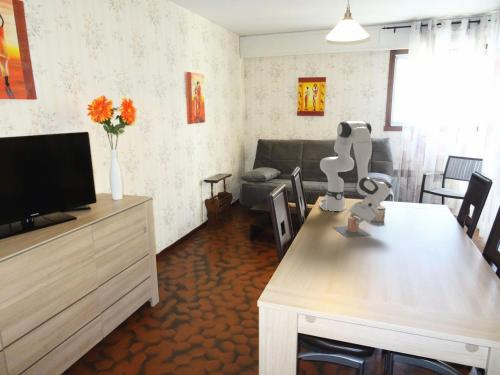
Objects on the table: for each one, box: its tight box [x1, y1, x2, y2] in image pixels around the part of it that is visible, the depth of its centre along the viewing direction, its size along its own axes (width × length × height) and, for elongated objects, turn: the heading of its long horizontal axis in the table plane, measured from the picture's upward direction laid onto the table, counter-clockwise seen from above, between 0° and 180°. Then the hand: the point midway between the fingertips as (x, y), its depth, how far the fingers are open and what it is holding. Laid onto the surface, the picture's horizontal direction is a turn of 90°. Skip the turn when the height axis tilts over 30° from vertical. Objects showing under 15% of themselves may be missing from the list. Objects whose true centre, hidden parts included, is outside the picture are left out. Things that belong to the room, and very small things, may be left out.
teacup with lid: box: [371, 203, 386, 223], centre depth 233 cm, size 12×9×12 cm
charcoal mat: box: [332, 225, 372, 238], centre depth 210 cm, size 18×16×1 cm
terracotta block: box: [347, 216, 360, 232], centre depth 210 cm, size 5×4×8 cm
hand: (352, 221), depth 209 cm, fingers open, 6 cm apart
